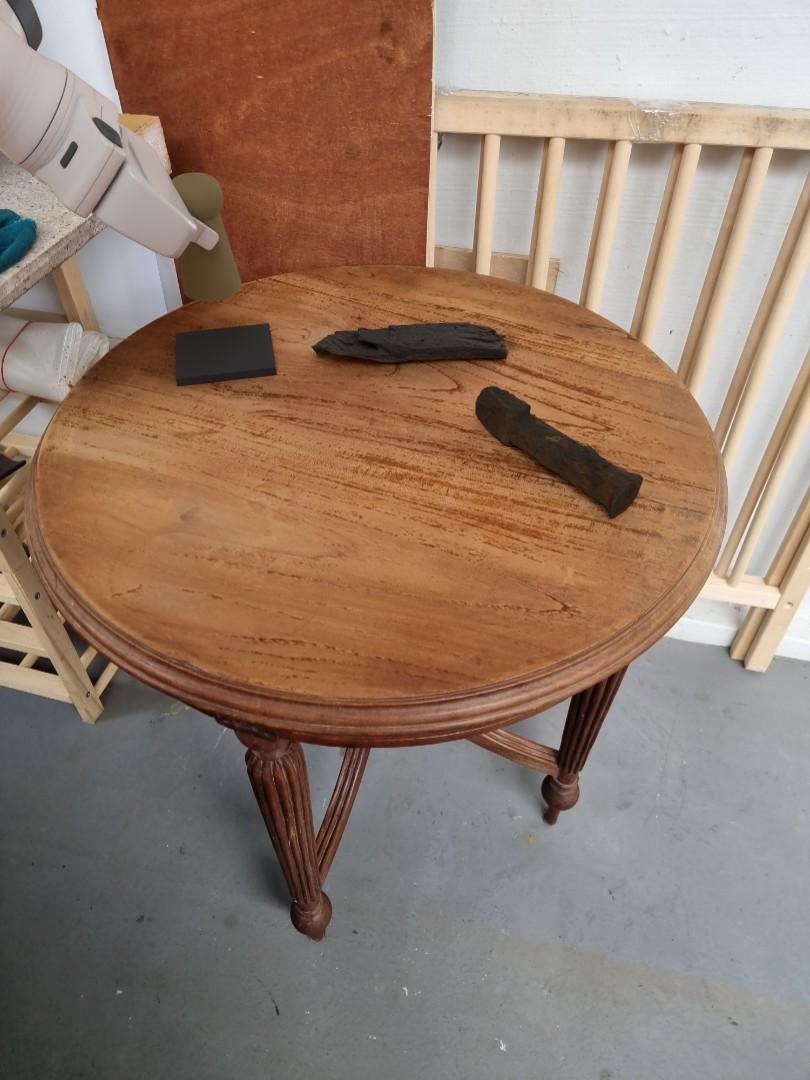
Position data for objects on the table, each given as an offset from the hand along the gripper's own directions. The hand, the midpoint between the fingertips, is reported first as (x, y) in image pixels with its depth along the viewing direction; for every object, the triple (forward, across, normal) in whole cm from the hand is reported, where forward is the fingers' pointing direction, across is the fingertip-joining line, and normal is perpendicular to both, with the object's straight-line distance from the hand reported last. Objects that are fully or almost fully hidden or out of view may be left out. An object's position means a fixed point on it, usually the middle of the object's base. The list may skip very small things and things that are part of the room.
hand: (207, 229), depth 76 cm
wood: (+24, +7, +3) cm, 25 cm away
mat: (+10, 0, -11) cm, 15 cm away
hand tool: (+26, +30, +6) cm, 40 cm away
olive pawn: (+4, 0, -5) cm, 6 cm away
